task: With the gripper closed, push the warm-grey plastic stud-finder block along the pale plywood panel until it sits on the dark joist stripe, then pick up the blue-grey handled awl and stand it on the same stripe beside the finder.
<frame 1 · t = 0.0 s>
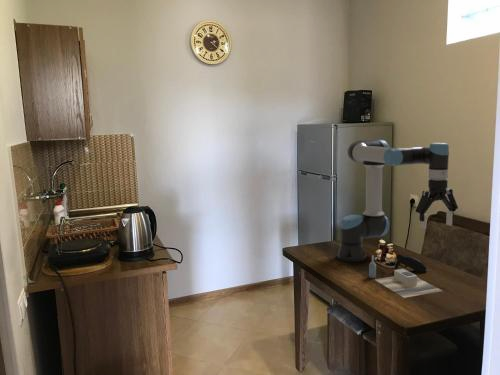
hand: (436, 226, 179), 28 cm above the table, fingers open, 13 cm apart
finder: (405, 281, 190), point 1 cm above the table, touching panel
gun: (411, 272, 202), on the table
panel: (407, 286, 185), on the table
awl: (372, 278, 196), on the table
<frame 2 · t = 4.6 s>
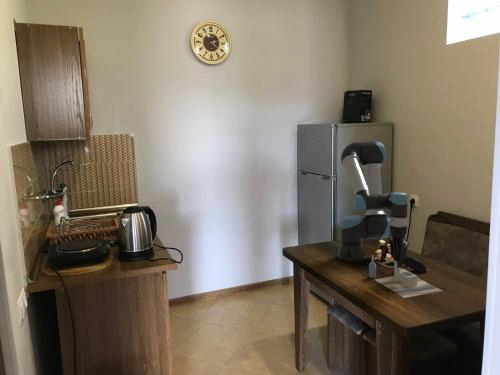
hand: (397, 273, 195), 2 cm above the table, fingers closed
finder: (405, 281, 190), point 1 cm above the table, touching gripper, panel
everything else where it was.
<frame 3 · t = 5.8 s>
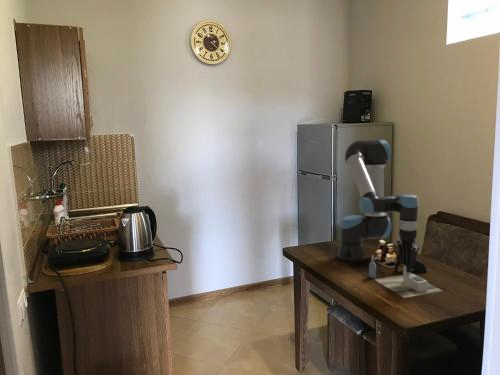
hand: (406, 278, 188), 2 cm above the table, fingers closed
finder: (415, 286, 183), point 1 cm above the table
everything else where it was.
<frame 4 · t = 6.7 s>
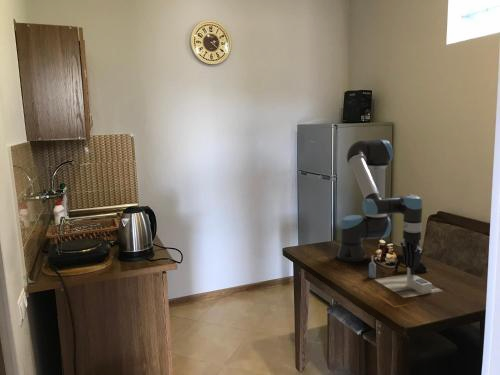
hand: (410, 280, 186), 2 cm above the table, fingers closed
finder: (419, 288, 181), point 1 cm above the table, touching gripper, panel
everything else where it was.
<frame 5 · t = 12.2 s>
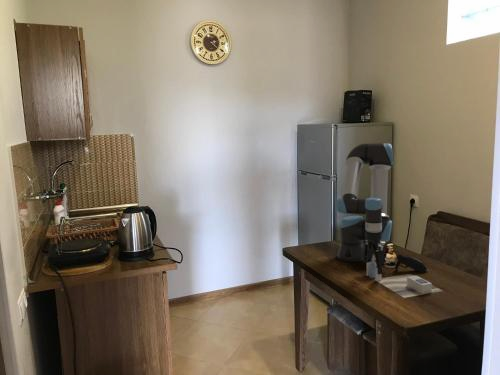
hand: (373, 277, 195), 1 cm above the table, fingers open, 7 cm apart
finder: (419, 288, 181), point 1 cm above the table, touching panel
everything else where it was.
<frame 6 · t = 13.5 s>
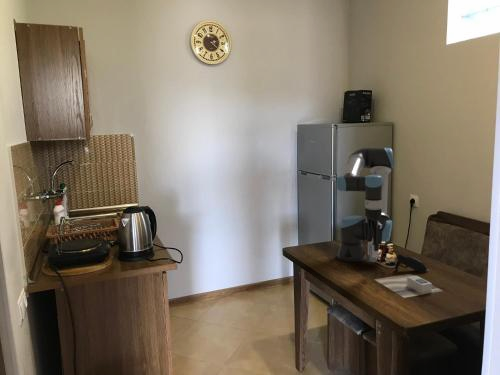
hand: (372, 255, 195), 11 cm above the table, fingers closed on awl, 3 cm apart
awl: (372, 260, 195), point 9 cm above the table, touching gripper
everything else where it was.
when the fingers open (1 cm above the table, at t = 17.6 s): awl stays where it is, resting on panel.
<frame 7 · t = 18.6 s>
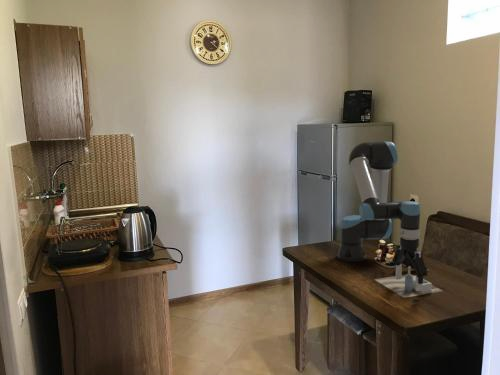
hand: (408, 284, 178), 4 cm above the table, fingers open, 13 cm apart
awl: (408, 291, 178), point 1 cm above the table, touching panel
everything else where it was.
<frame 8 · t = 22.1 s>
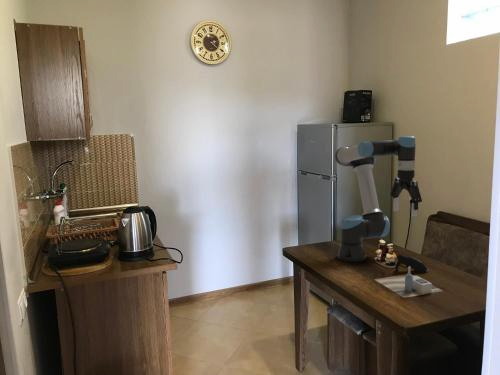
hand: (404, 213, 194), 31 cm above the table, fingers open, 13 cm apart
nothing on the table moved.
at the end: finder inside the target area on the panel (0.8 cm from its centre), point 0.6 cm above the panel's base; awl inside the target area on the panel (0.0 cm from its centre), point 0.6 cm above the panel's base; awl tilted 0° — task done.
